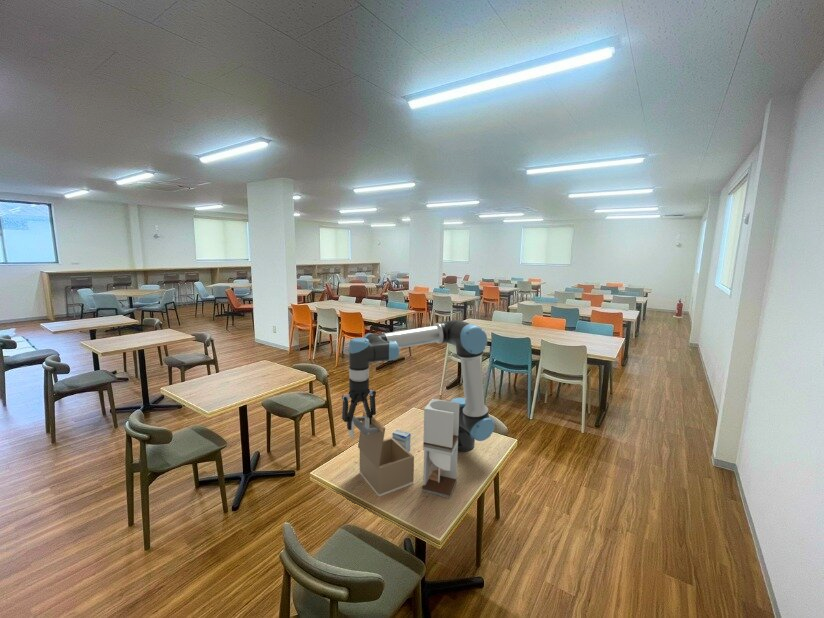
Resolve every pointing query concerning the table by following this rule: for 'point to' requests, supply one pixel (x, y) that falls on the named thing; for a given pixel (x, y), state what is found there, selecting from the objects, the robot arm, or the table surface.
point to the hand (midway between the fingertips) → (359, 434)
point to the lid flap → (370, 438)
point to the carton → (389, 468)
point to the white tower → (440, 447)
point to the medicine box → (402, 438)
